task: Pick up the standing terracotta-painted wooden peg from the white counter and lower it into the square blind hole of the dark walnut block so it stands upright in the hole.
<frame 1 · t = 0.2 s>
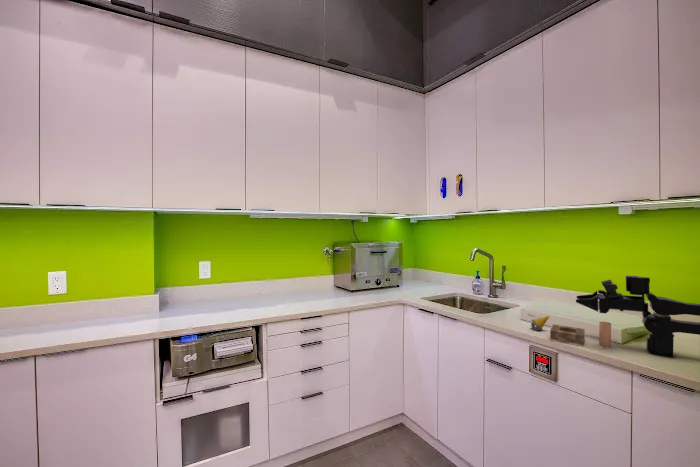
hand: (576, 298, 133), 16 cm above the worktop, fingers open, 9 cm apart
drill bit: (539, 330, 146), on the worktop
peg: (604, 346, 126), on the worktop
hole block: (567, 339, 133), on the worktop
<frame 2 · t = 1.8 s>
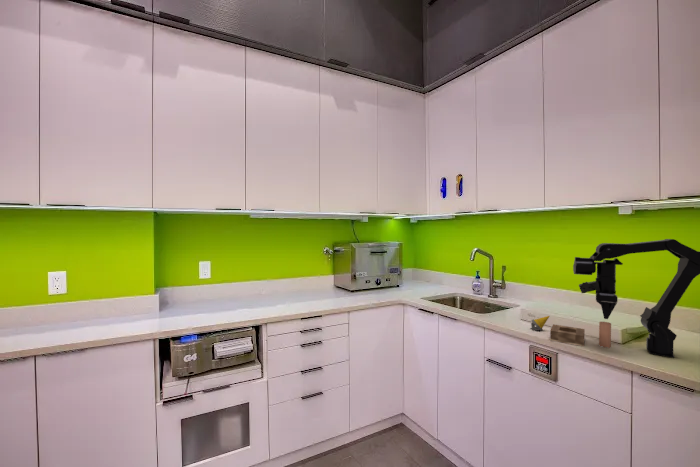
hand: (605, 316, 126), 11 cm above the worktop, fingers open, 9 cm apart
nothing on the worktop moved.
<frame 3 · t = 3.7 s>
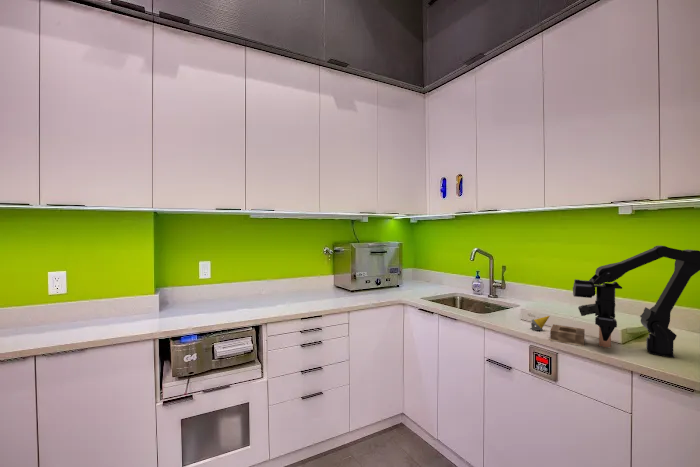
hand: (604, 339, 126), 3 cm above the worktop, fingers closed on peg, 4 cm apart
peg: (604, 346, 126), on the worktop, touching gripper
everything else where it was.
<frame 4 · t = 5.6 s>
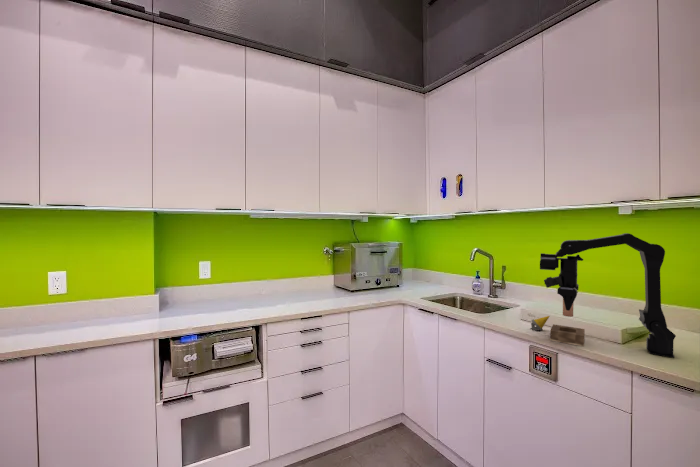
hand: (568, 309, 133), 12 cm above the worktop, fingers closed on peg, 4 cm apart
peg: (567, 315, 133), point 10 cm above the worktop, touching gripper
everything else where it was.
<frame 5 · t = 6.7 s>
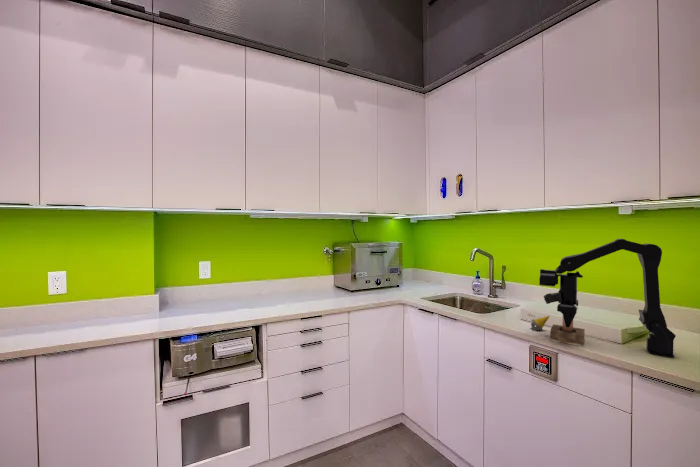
hand: (567, 325, 133), 6 cm above the worktop, fingers closed on peg, 4 cm apart
peg: (567, 331, 133), point 3 cm above the worktop, touching gripper
everything else where it was.
when the fingers open (5 cm above the worktop, at t = 7.5 s): peg drops 2 cm, resting on hole block.
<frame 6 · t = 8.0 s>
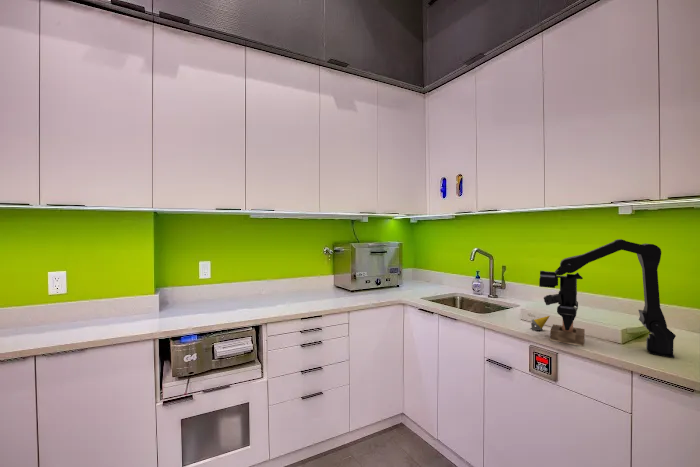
hand: (567, 327, 133), 5 cm above the worktop, fingers open, 9 cm apart
peg: (567, 338, 133), point 1 cm above the worktop, touching hole block
everything else where it was.
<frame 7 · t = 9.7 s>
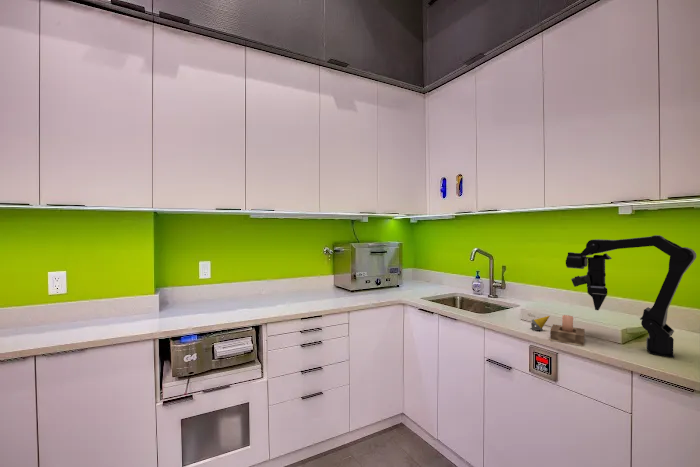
hand: (596, 308, 134), 13 cm above the worktop, fingers open, 9 cm apart
nothing on the worktop moved.
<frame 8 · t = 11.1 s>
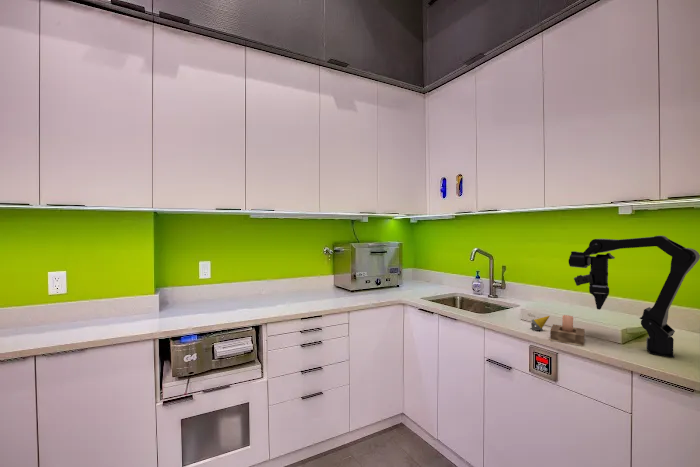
hand: (598, 307, 134), 13 cm above the worktop, fingers open, 9 cm apart
nothing on the worktop moved.
at the end: peg 0.0 cm off-centre on the hole block, point 0.5 cm above the hole block's base; peg tilted 0°; the gripper is holding nothing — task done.
